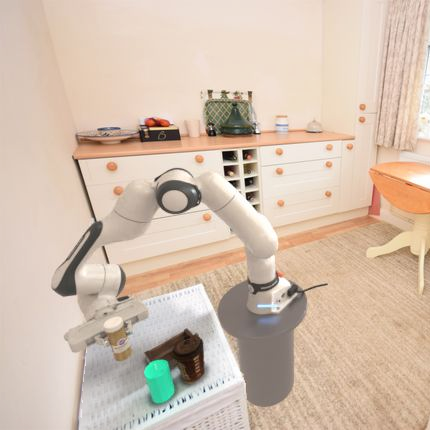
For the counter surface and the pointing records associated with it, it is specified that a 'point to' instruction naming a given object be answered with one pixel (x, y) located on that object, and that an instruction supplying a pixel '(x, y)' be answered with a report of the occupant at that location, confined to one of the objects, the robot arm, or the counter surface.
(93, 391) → the counter surface
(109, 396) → the counter surface
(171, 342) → the spice rack
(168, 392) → the candle
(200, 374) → the coffee cup
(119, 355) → the sprinkles bottle
